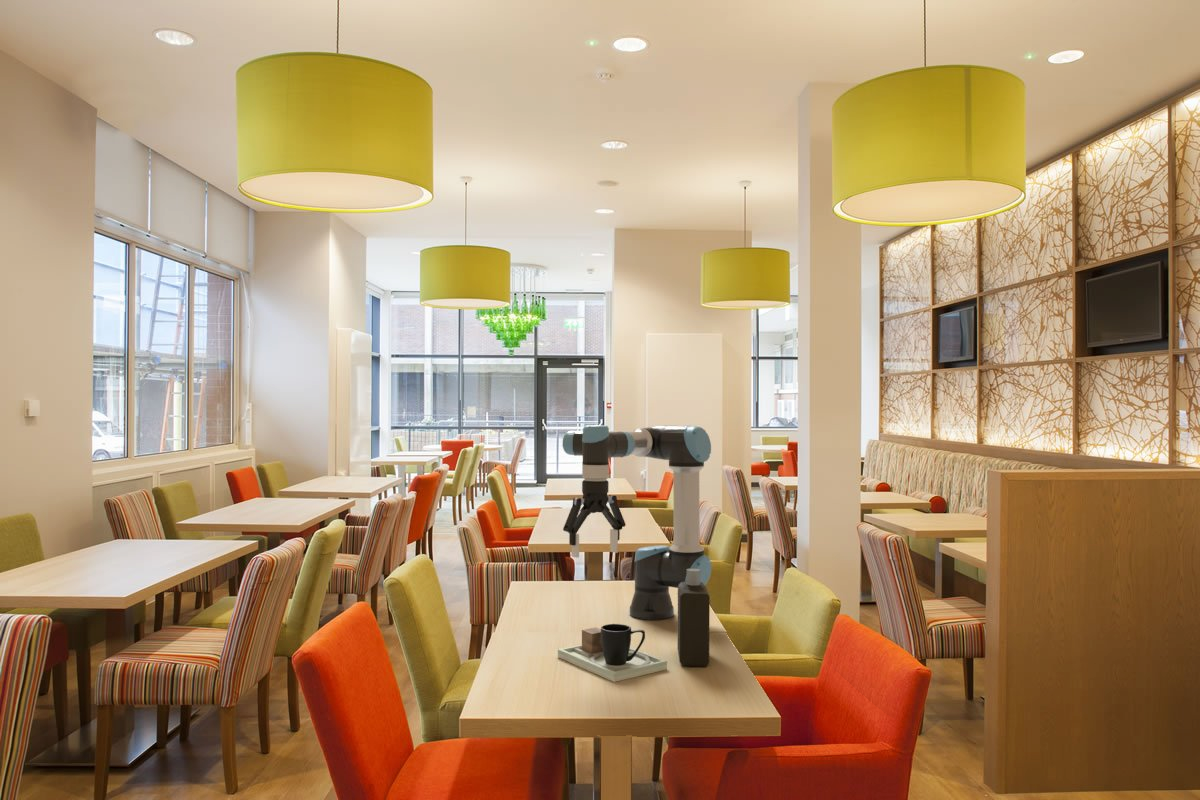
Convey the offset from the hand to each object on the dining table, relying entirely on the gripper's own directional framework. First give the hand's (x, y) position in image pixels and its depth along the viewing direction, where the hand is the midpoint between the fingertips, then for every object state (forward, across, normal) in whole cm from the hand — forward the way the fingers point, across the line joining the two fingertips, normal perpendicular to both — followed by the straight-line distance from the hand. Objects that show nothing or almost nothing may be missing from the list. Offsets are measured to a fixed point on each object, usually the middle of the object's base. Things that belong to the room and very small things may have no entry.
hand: (594, 554), depth 234 cm
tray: (+29, 0, +8) cm, 30 cm away
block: (+28, 0, 0) cm, 28 cm away
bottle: (+29, -21, +18) cm, 40 cm away
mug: (+28, 0, +13) cm, 31 cm away
